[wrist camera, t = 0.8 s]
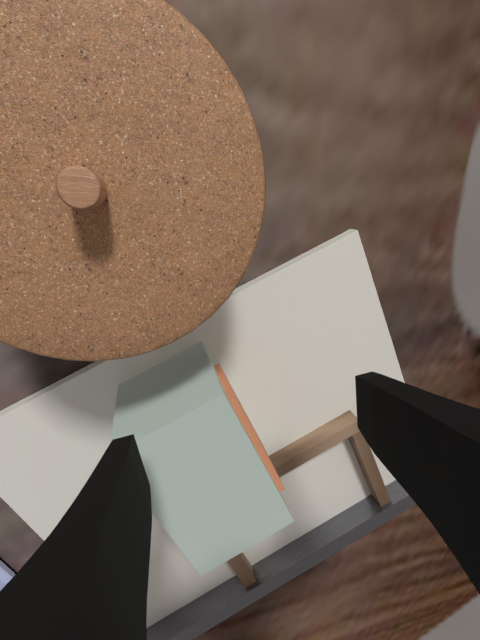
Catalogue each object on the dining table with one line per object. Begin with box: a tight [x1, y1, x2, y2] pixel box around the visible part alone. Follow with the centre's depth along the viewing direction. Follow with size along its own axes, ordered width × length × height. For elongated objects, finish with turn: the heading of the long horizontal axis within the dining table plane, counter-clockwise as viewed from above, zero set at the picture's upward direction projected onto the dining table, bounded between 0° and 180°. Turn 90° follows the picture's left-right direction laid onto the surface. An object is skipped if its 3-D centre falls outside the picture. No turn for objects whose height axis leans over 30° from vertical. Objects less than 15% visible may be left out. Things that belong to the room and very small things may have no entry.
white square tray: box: [0, 229, 416, 640], centre depth 23 cm, size 24×20×2 cm
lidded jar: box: [0, 0, 266, 361], centre depth 13 cm, size 11×11×9 cm
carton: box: [110, 341, 294, 576], centre depth 18 cm, size 5×8×6 cm, turn 25°
